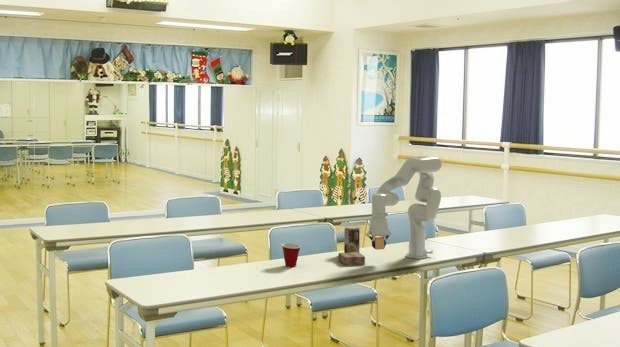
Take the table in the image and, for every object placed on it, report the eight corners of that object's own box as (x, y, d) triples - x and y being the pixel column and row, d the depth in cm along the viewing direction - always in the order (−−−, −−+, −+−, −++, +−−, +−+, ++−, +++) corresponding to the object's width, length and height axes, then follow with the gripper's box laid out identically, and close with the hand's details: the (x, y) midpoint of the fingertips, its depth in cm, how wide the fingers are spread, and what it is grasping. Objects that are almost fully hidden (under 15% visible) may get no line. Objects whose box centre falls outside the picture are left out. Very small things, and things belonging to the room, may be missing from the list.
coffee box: (359, 254, 405) (360, 228, 403) (359, 257, 398) (359, 230, 397) (344, 254, 405) (344, 227, 404) (343, 256, 399) (344, 229, 397)
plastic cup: (298, 269, 367) (298, 247, 366) (279, 267, 369) (279, 246, 368) (302, 264, 378) (303, 243, 376) (284, 263, 380) (284, 242, 379)
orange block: (382, 247, 384) (381, 236, 383) (384, 249, 379) (384, 238, 379) (373, 247, 383) (373, 237, 383) (375, 249, 379) (375, 239, 378)
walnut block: (358, 260, 391) (358, 252, 390) (364, 265, 379) (364, 256, 379) (338, 261, 388) (338, 252, 388) (344, 266, 376) (344, 257, 376)
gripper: (391, 213, 384) (391, 245, 386) (362, 215, 381) (362, 246, 384) (395, 216, 377) (395, 248, 379) (365, 217, 374) (365, 249, 376)
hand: (378, 247), depth 381 cm, fingers closed on orange block, 4 cm apart
